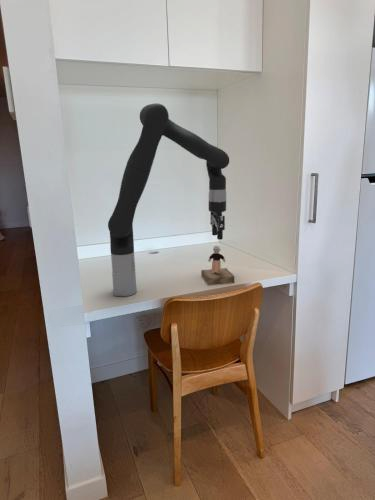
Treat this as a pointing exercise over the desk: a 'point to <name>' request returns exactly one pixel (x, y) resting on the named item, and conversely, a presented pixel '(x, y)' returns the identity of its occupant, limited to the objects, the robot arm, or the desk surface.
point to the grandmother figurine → (216, 260)
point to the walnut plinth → (217, 277)
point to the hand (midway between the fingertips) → (217, 237)
